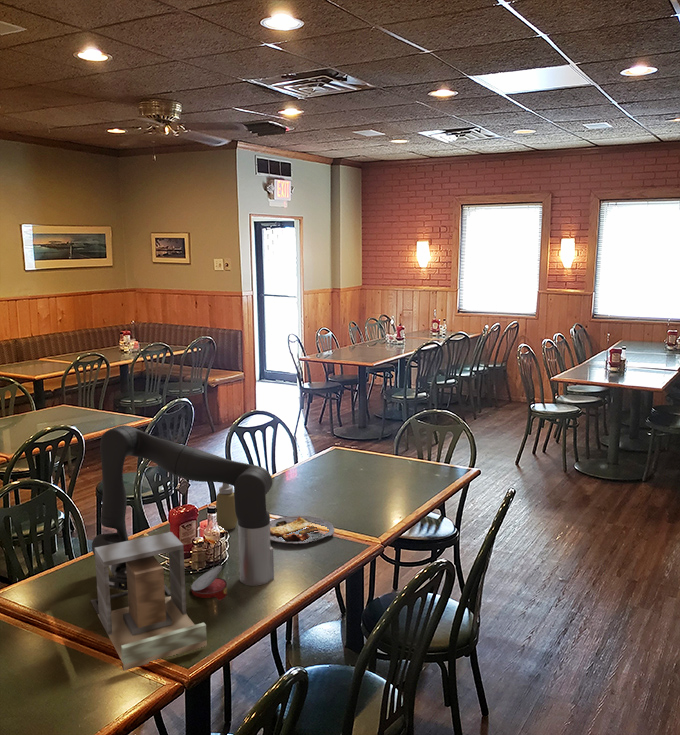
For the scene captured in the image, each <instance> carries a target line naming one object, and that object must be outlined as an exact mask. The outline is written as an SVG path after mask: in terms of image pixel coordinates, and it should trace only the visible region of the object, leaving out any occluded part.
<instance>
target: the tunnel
mask: <svg viewBox="0 0 680 735" xmlns="http://www.w3.org/2000/svg"><path fill="white" fill-rule="evenodd" d="M128 540H129V539H128ZM184 553H185V552H184V543H182V541H180V539H179V538H178V537H177V536H176V535H175V534H174V533H173V531H168V532H163V533H158V534H154V535H149V536H144V537H139V538H134V539H131V540H129V541H124V542H120V543H115V544H110V545H105V546H100V547H96V548H95V555H94V559H95V576H96V578H95V579H96V589H97V598H95V599H90V603H91V605H92V607H93V609H94V612H96V615H97V617H98V618H99V620H100V622H101V625H102V626H103V628H104V630H105V632H106V634H107V635H108V637H109V640H110V642H111V643H112V646H114V650H115V651H116V653H117V654H118V655H117V656H118V657H119V659H120V660H121V663H122V665H121V668H122V670H123V671H124V672H125V671H128V670H131V669H135V668H137V667H140V666H144V665H147V664H150V663H149V662H150V661H153V660H157V659H160V658H165V657H168V656H172V657H174V656H173V655H175V656H177V655H176V654H178V655H182V654H184V652H185V653H188V651H189V652H191V650H192V651H194V650H195V651H196V650H198V648H199V649H202V648H204V646H205V647H207V646H208V642H207V641H208V639H207V624H206V623H205V622H201V623H200V622H199V623H197V624H195V623H194V622H193V621H192V619H191V618H190V617H189V616H188V614H187V597H186V596H187V594H186V578H185V577H186V576H185V574H186V572H185V554H184ZM161 554H168V567H169V568H168V570H169V587H168V586H167V585H166V584H165V583H164V588H165V595H167V596H165V608H166V611H167V613H168V614H169V616H170V617H171V618H172V625H168V626H165V627H161V628H158V629H154V630H150V631H147V632H143V633H139V634H136V635H132V634H131V632H130V630H129V628H128V627H127V625H126V623H125V622H124V620H123V614H125V613H129V607H128V606H125V607H121V608H117V609H114V610H112V604H111V600H112V599H115V598H119V597H124V596H128V590H125V591H122V592H118V593H114V594H111V592H110V590H111V589H110V587H109V578H110V576H109V565H114V564H118V563H123V562H127V561H132V560H136V559H141V558H145V557H150V556H154V557H155V556H157V555H161ZM201 647H202V648H201ZM181 653H182V654H181ZM168 658H169V657H168ZM165 659H166V658H165Z"/></svg>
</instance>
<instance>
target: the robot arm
mask: <svg viewBox="0 0 680 735" xmlns="http://www.w3.org/2000/svg"><path fill="white" fill-rule="evenodd" d="M99 448H100V450H99V451H100V460H101V461H100V462H101V474H102V499H101V511H100V514H101V515H100V524H101V525H102V526H103V527H104V528H107V529H108V528H109V529H115V530H116V532H110V533H109V532H108V533H101V534H98V535H96V536H95V537H94V538H93V540H92V542H91V551H92V553H93V556H95V548H96V547H100V546H105V545H110V544H115V543H120V542H124V541H129V535H128V533H127V525H126V515H127V502H128V501H127V500H128V499H127V493H126V487H125V484H124V476H123V473H124V465H125V460H126V457H128V456H131V457H138V458H141V459H144V460H148V461H150V462H153V463H154V464H156V465H158V467H160V468H161V469H162V470H163V471H165V472H166V473H168V474H171V475H173V476H176V477H179V478H182V479H184V480H188V481H191V482H201V483H221V484H223V483H226V484H229V486H232V487H234V488H233V492H234V501H235V513H236V517H237V519H238V520H237V532H238V534H237V535H238V536H237V537H238V560H239V562H238V563H239V564H238V565H239V566H238V567H239V568H238V569H239V571H238V572H239V581H240V583H242V584H243V585H246V586H253V587H254V586H261V584H262V585H265V584H267V583H269V582H270V581H271V579H272V580H274V579H275V569H274V568H275V564H274V563H275V562H274V561H275V560H274V557H275V556H274V548H273V547H272V545H271V540H270V522H271V516H270V512H269V511H268V510H267V497H266V496H267V494H268V493H269V492H270V490H271V488H272V486H273V478H272V475H271V473H270V472H269V471H268V470H267V469H265V468H264V467H262V466H259V465H255V464H249V463H245V462H240V461H235V460H231V459H228V458H224V457H222V456H219V455H217V454H213V453H209V452H206V451H204V450H202V449H199V448H195V447H191V446H189V445H186V444H181V443H178V442H175V441H172V440H167V439H163V438H161V437H157V436H154V435H151V434H149V433H147V432H144V431H142V430H140V429H138V428H135V427H133V426H130V425H118V426H115V427H113V428H110V429H108V430H106V431H104V433H103V434H102V435H101V438H100V444H99ZM108 569H109V571H110V572H111V574H112V575H113V576H109V589H110V588H112V589H116V590H122V591H128V590H127V573H126V562H123V563H118V564H114V565H109V566H108Z"/></svg>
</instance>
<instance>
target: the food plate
mask: <svg viewBox="0 0 680 735" xmlns="http://www.w3.org/2000/svg"><path fill="white" fill-rule="evenodd" d="M310 522H312V523H315V524H319V525H321V526H325V527H327V529H329V532H328V533H326V534H325V536H323V535H324V534H322V533H321V534H322V535H321V536H322V537H321V538H319V539H315V540H311V541H309V542H312V541H316V542H318V541H319V540H322V539H324V538H326V537H331V536H332V535H334V533H335V527H334V525H333V523H331V522H330V521H329V520H327V519H324V518H322V517H319V516H313V515H300V514H299V515H298V514H297V515H291V516H290V515H289V516H282V517H278V518H275V519H272V520H270V542H274V543H282V544H285V545H287V544H288V545H298V544H300V545H304V544H310V543H309V542H308V541H307V542H305V541H304V540H306V539H308V538H309V537H310V536H309V535H308V534H307V533H310V532H314V531H318V529H317V527H314V526H311V527H309V528H306V529H304V530H302V531H300V532H299V534H301V535H299V534H295V533H293V532H296V531H298V530H300V529H303V528H305V527H307V525H308V526H309V525H310V524H312V523H310ZM315 528H316V529H315ZM291 532H292V534H289V533H291ZM325 532H327V531H325ZM287 534H289V535H287ZM279 537H282V538H283V539H284V540H285V541H282V540H281V538H279ZM317 540H318V541H317ZM303 541H304V542H303ZM312 543H313V542H312Z"/></svg>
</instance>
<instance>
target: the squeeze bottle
mask: <svg viewBox="0 0 680 735" xmlns="http://www.w3.org/2000/svg"><path fill="white" fill-rule="evenodd" d="M233 487H234V486H232V485H229V484H226V483H222V485H221V486H220V487H219V488H218V493H217V495H216V503H215V510H216V509H217V521H216V523H217V522H218V524H217V526H218V525H219V526H221V527H222V528H224V529H225V530H226V531H227V530H232V529H235V528H236V527H237V525H238V519H237V517H236V513H235V501H234V488H233ZM219 526H218V527H219ZM225 530H224V531H225Z"/></svg>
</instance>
